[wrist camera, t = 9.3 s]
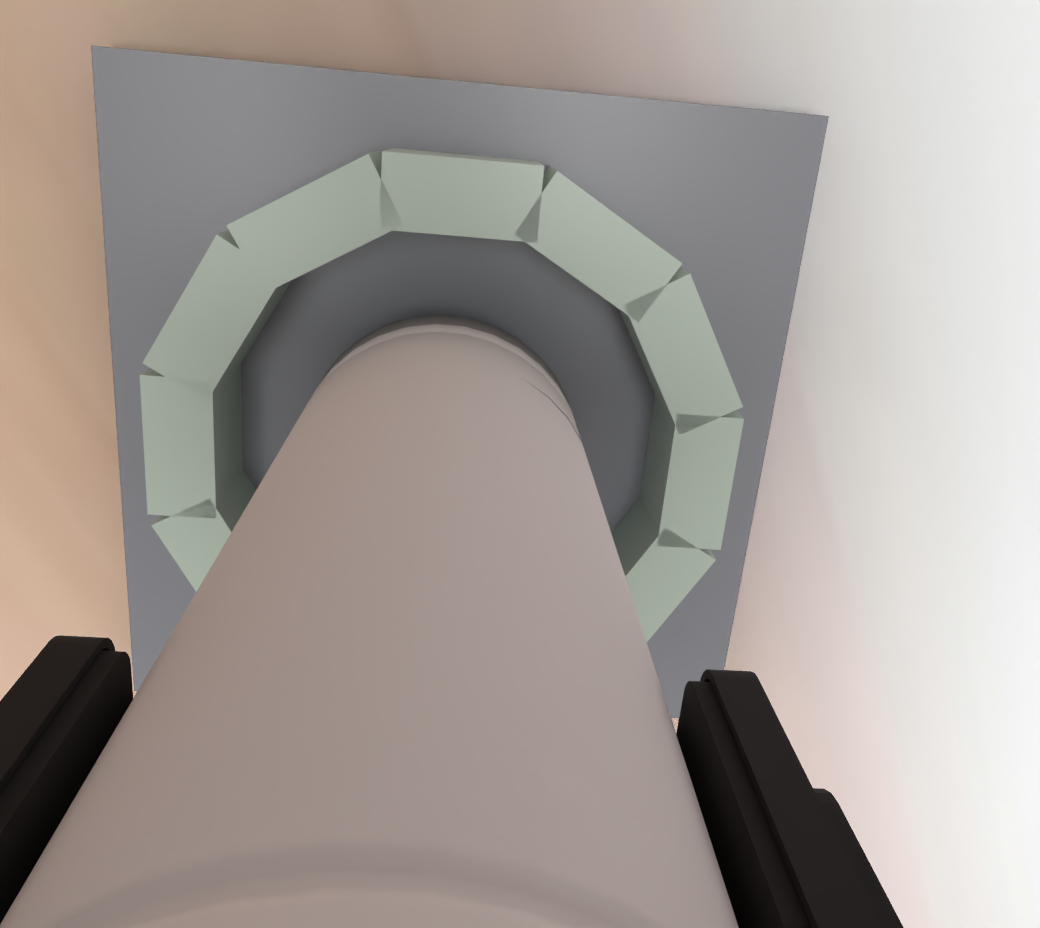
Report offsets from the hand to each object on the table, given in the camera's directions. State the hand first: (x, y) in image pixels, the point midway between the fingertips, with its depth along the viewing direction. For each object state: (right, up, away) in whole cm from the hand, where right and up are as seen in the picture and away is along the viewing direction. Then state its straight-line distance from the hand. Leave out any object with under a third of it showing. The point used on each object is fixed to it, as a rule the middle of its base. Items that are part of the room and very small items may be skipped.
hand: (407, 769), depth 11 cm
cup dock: (0, +5, +13) cm, 14 cm away
